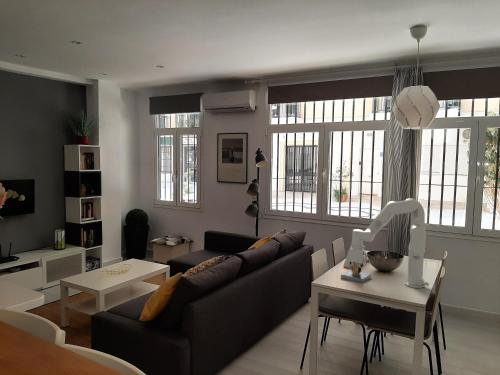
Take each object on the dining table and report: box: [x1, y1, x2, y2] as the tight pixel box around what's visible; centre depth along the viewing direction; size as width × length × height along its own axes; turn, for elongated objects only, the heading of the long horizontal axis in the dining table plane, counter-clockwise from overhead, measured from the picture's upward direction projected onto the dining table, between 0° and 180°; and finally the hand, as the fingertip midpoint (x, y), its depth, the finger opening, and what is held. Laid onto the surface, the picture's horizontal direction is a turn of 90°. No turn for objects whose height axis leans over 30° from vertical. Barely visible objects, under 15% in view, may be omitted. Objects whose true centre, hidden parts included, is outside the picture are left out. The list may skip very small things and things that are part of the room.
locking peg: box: [352, 262, 360, 276], centre depth 280 cm, size 4×4×10 cm
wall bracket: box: [342, 242, 369, 269], centre depth 320 cm, size 22×4×30 cm
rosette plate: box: [340, 269, 372, 284], centre depth 281 cm, size 16×16×3 cm
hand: (356, 271), depth 281 cm, fingers closed on locking peg, 3 cm apart
